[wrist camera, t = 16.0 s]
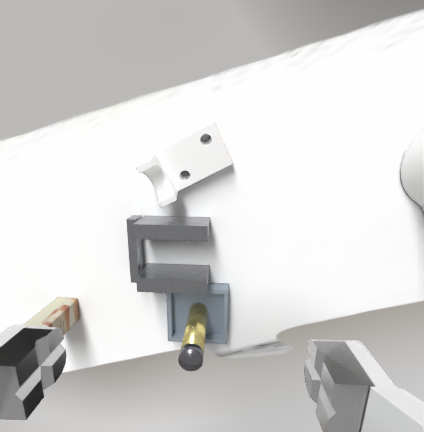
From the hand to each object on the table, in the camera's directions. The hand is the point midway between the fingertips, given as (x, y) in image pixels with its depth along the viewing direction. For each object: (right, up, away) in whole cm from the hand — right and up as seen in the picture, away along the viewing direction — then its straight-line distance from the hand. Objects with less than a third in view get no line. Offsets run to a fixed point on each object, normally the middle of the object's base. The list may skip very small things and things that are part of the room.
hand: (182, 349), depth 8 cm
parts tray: (-2, -14, +40) cm, 42 cm away
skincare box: (-29, -15, +41) cm, 52 cm away
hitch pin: (-2, -14, +39) cm, 41 cm away
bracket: (-3, +14, +33) cm, 36 cm away
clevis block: (-7, -1, +37) cm, 37 cm away
